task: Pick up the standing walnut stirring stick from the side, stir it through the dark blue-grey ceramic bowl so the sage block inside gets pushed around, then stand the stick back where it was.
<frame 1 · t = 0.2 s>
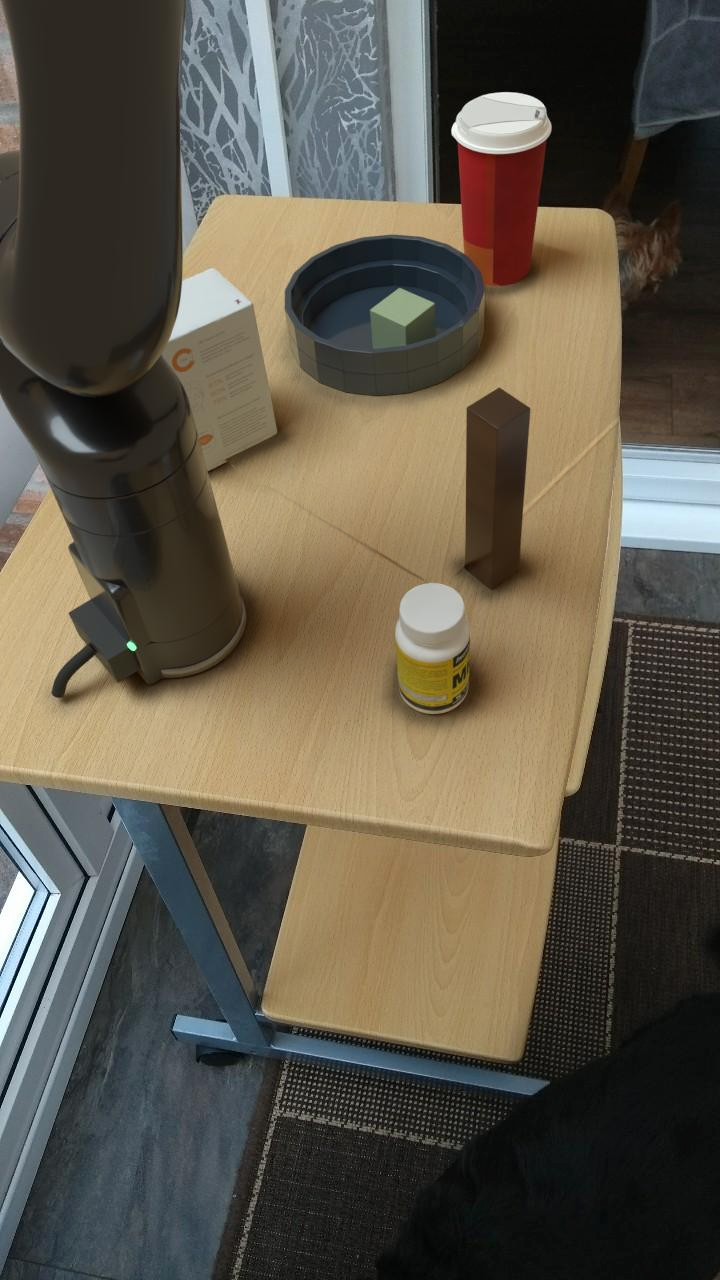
stick: (491, 569, 74), on the table
supplement bottle: (433, 688, 69), on the table
coffee cup: (496, 274, 97), on the table
block: (404, 345, 90), point 1 cm above the table, touching bowl
small box: (220, 439, 86), on the table
bowl: (386, 338, 92), on the table
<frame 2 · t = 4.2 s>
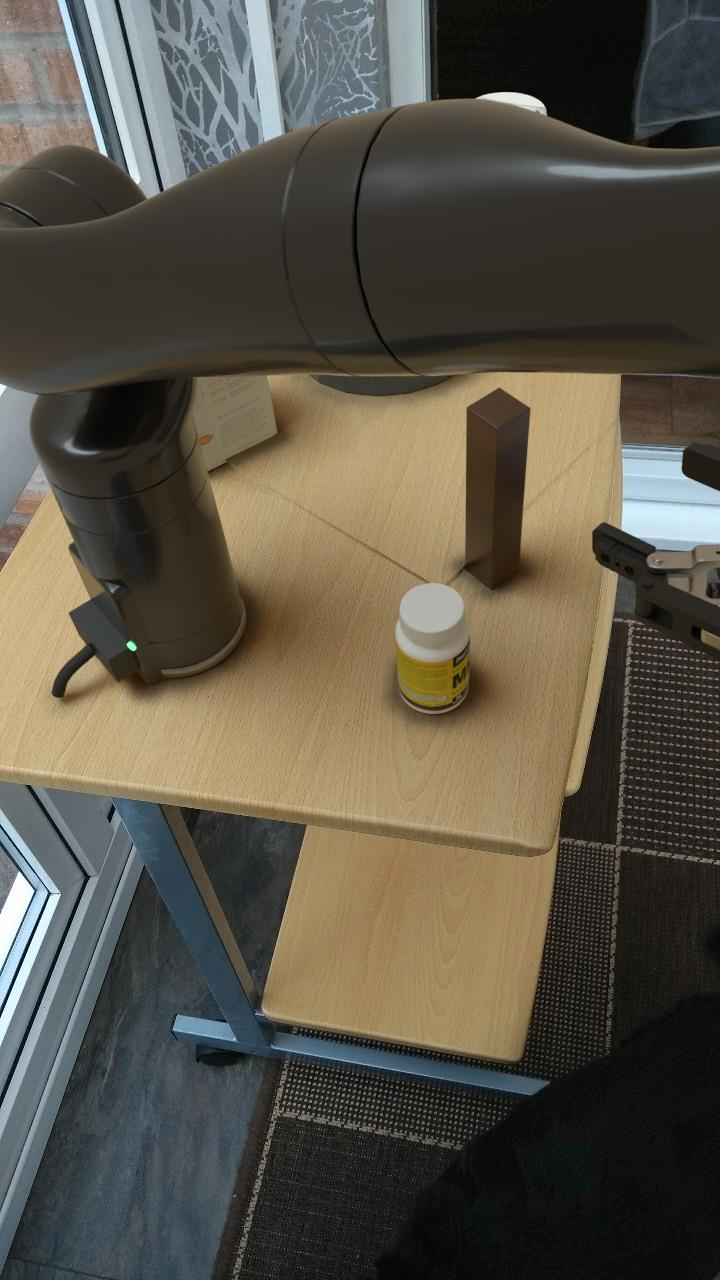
hand: (641, 496, 59), 13 cm above the table, tool horizontal, fingers open, 8 cm apart
nothing on the table moved.
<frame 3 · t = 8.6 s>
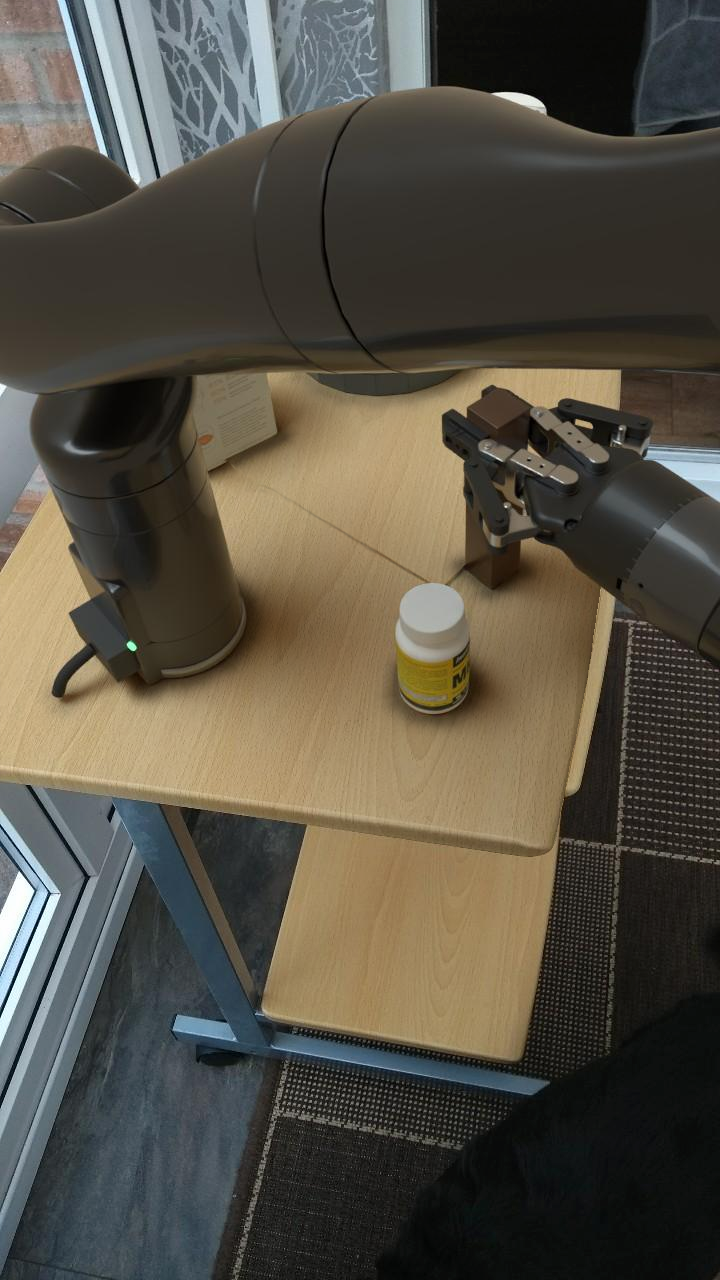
hand: (466, 410, 66), 13 cm above the table, tool horizontal, fingers closed on stick, 3 cm apart
stick: (491, 569, 74), on the table, touching gripper
everything else where it was.
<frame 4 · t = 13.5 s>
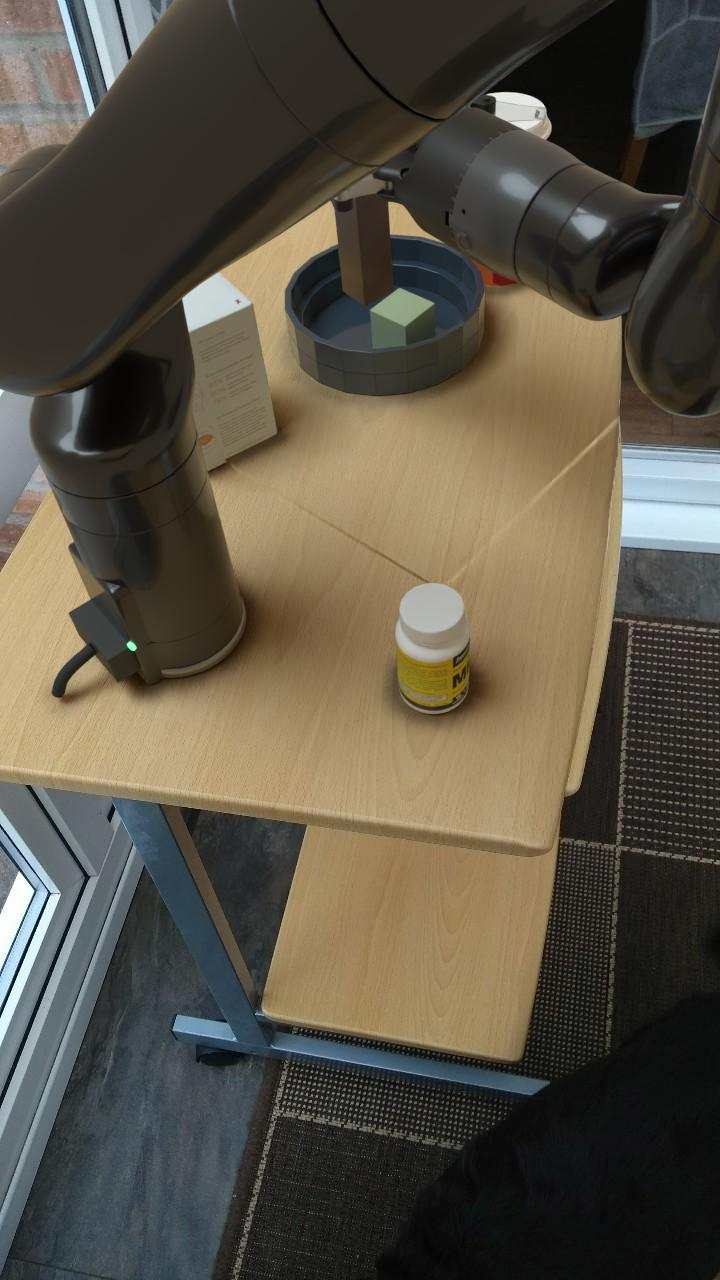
hand: (327, 105, 69), 24 cm above the table, tool horizontal, fingers closed on stick, 3 cm apart
stick: (368, 291, 78), point 11 cm above the table, touching gripper
everything else where it was.
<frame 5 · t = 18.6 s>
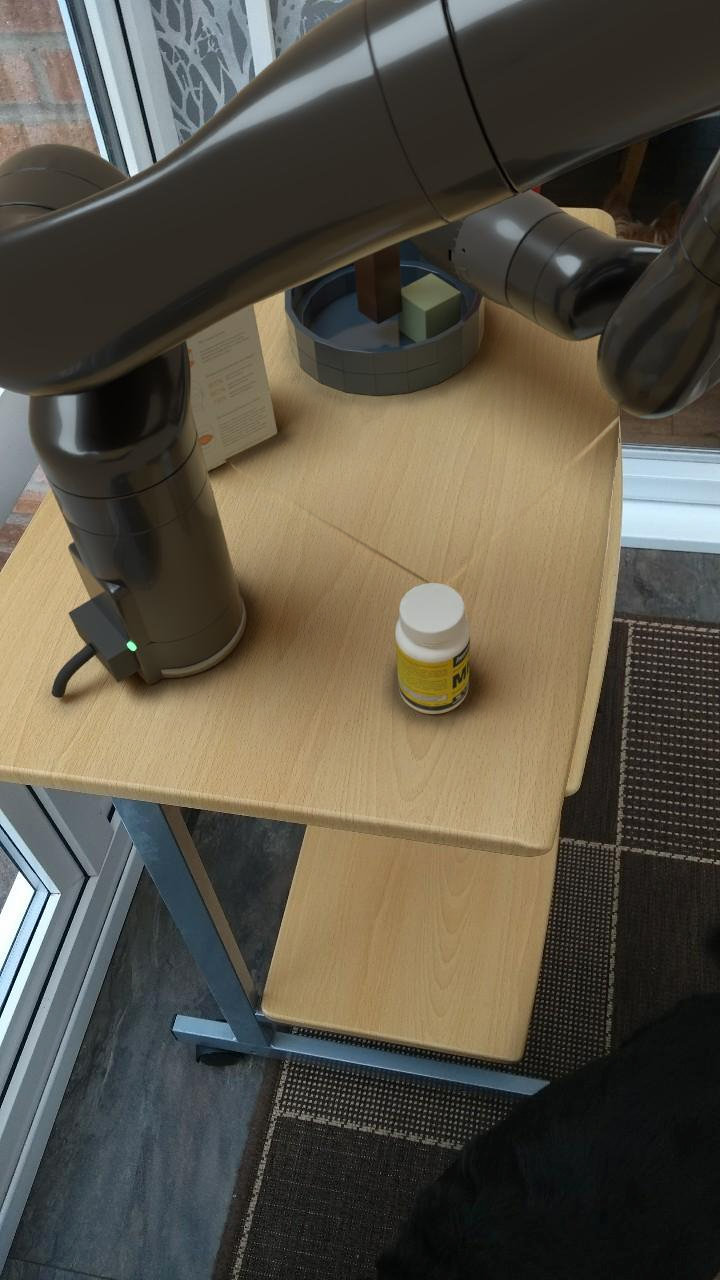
hand: (346, 154, 81), 16 cm above the table, tool horizontal, fingers closed on stick, 3 cm apart
stick: (380, 311, 89), point 3 cm above the table, touching gripper
block: (429, 330, 91), point 1 cm above the table, touching bowl
everything else where it was.
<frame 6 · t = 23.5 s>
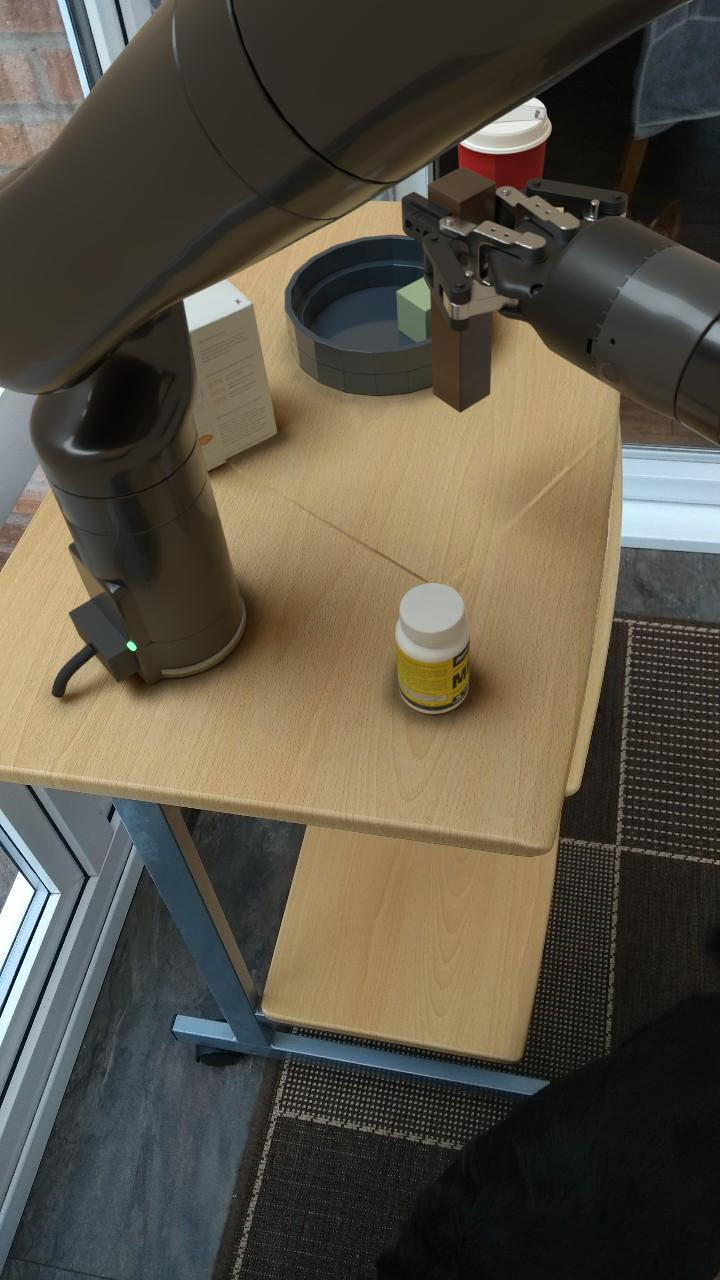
hand: (428, 198, 61), 24 cm above the table, tool horizontal, fingers closed on stick, 3 cm apart
stick: (461, 394, 70), point 11 cm above the table, touching gripper
everything else where it was.
when the fingers open (13 cm above the table, at t = 27.6 s): stick stays where it is, on the table.
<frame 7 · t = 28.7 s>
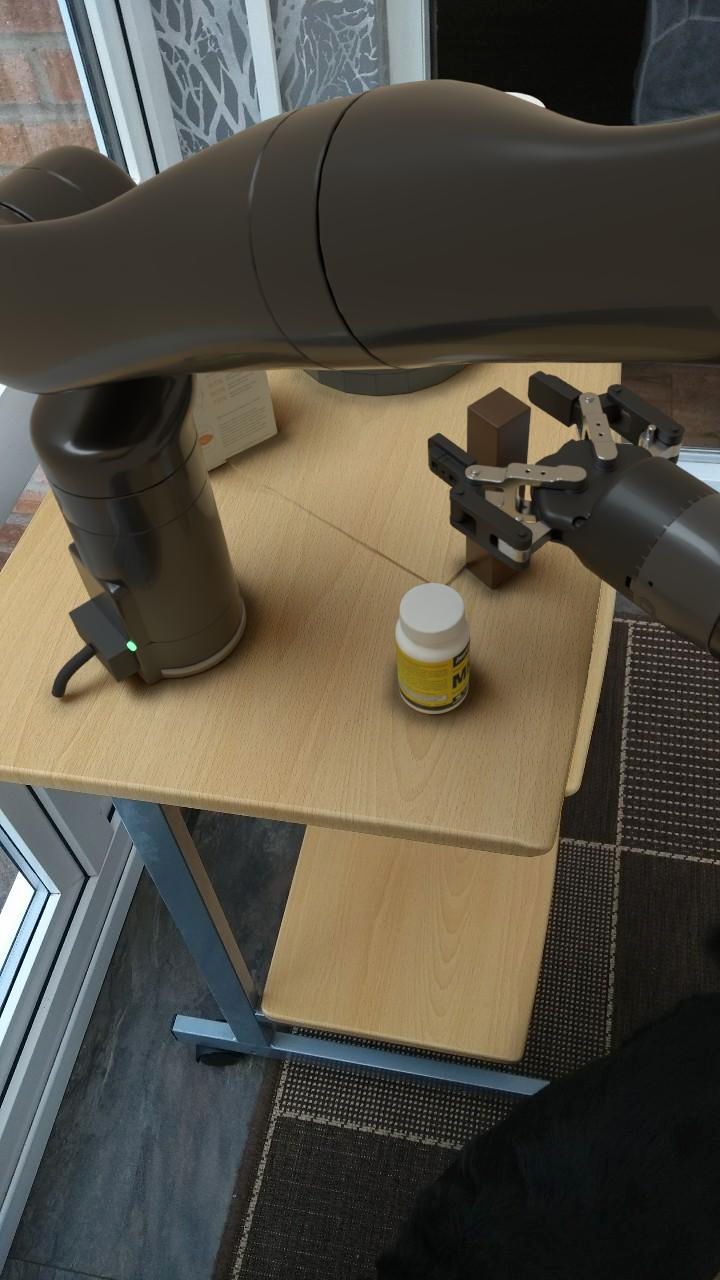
hand: (482, 414, 64), 14 cm above the table, tool horizontal, fingers open, 8 cm apart
stick: (492, 568, 74), on the table
everything else where it was.
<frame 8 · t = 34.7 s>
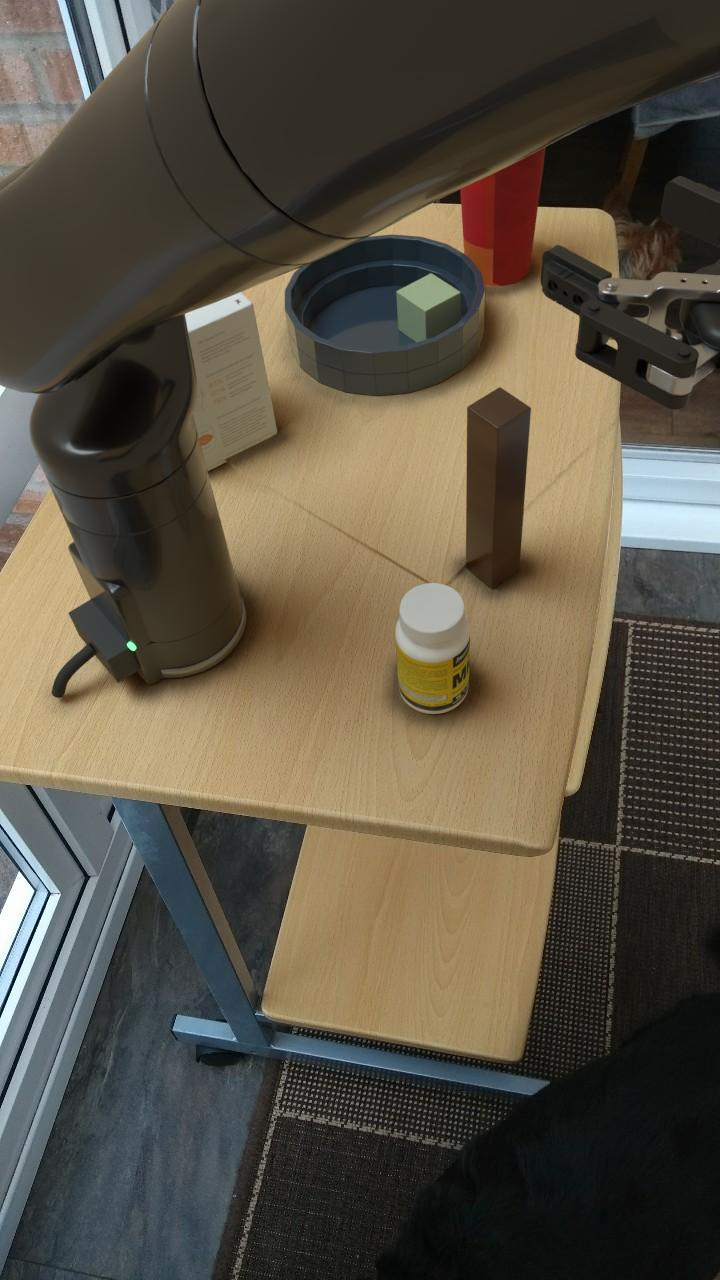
hand: (608, 230, 50), 28 cm above the table, tool horizontal, fingers open, 8 cm apart
nothing on the table moved.
at the end: block moved 3.0 cm from its start; block inside the target area in the bowl (3.9 cm from its centre), point 0.6 cm above the bowl's base; the gripper is holding nothing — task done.
